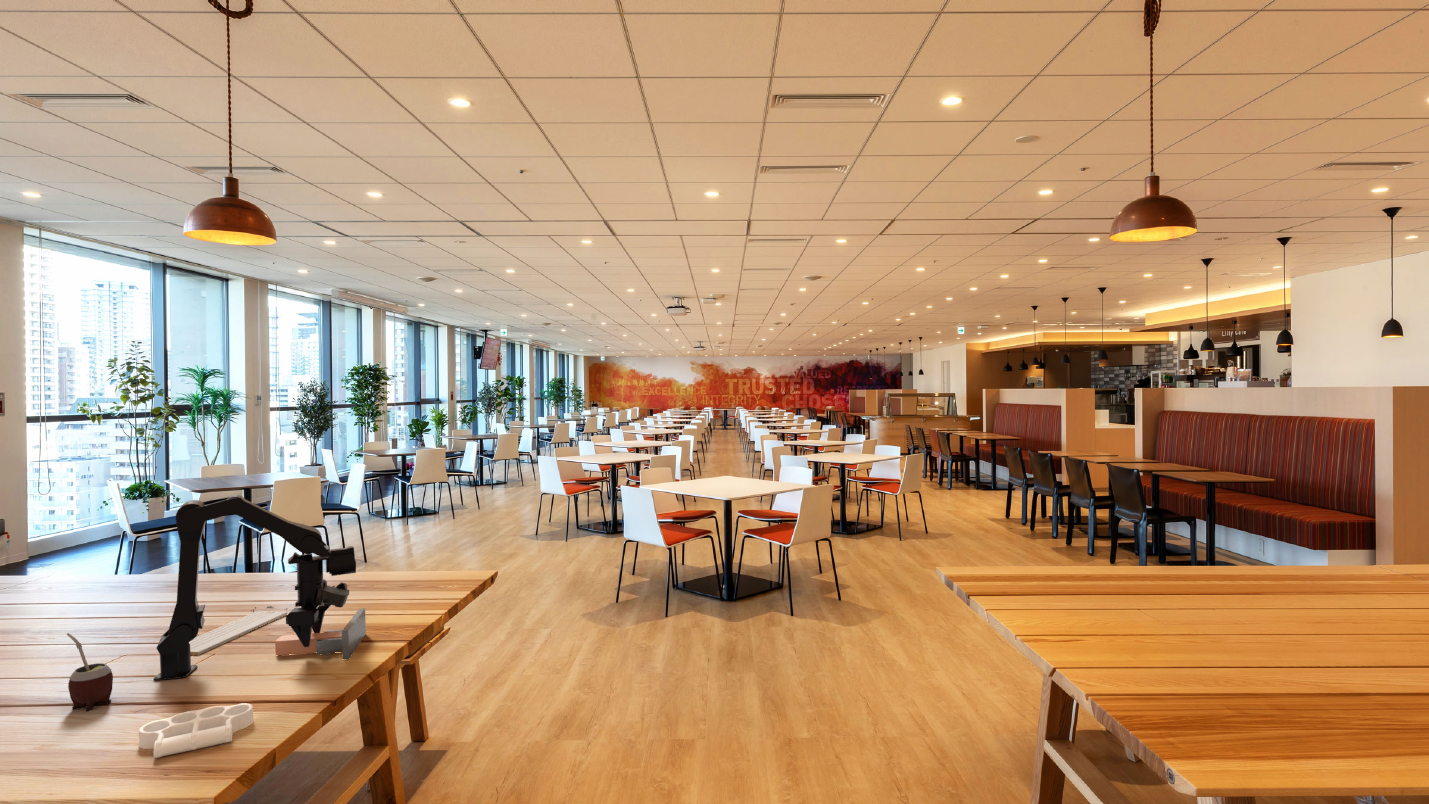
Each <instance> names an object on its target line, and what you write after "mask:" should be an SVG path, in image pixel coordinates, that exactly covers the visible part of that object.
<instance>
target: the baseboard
mask: <svg viewBox="0 0 1429 804" xmlns="http://www.w3.org/2000/svg"><path fill="white" fill-rule="evenodd" d="M256 609H257V607H256V606H255V607H254V609H251V610H250V612H251V613H249V614H247V615H245V616H242V617H240V618H238V619H235V620H233V621H231V622H228V623H226V624H224V625H221V626H219V627H217V628H214V629H212V630H209V631H207V632H204V633H202V634H200V635H197V636H196V637H195V638H194V639H193V640H192V641H190V642H189V644H190V653H191V656H200V655H202V654H204V653H207V652H208V651H211V650H213V649H215V648H217V647H219V646H222V645H224V644H226V643H229V642H232V641H233V640H235V639H237V638H240V637H241V636H244V635H246V634H248V633H251V632H253V631H255V630H257V629H259V628H258V627H260V628H262V627H264V626H266V625H268V624H270V622H271V623H272V621H273V622H274V620H275V621H276V619H277V620H279V619H281V618H280V617H282V618H284V617H286V616H287V614H289V612H288V611H287V610H288V608H287V607H286V608H285V610H286V611H275V610H274V609H275V608H274V607H273V606H271V605H270V606H266V609H271V610H272V609H273V611H271V610H268V611H267V610H256ZM255 610H256V611H255ZM283 616H284V617H283ZM267 623H268V624H267ZM265 624H266V625H265ZM263 625H264V626H263ZM261 626H262V627H261ZM254 629H255V630H254ZM252 630H253V631H252ZM250 631H251V632H250ZM239 636H240V637H239Z"/></svg>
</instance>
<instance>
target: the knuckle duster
mask: <svg viewBox="0 0 1429 804" xmlns="http://www.w3.org/2000/svg"><path fill="white" fill-rule="evenodd" d="M253 723H254V705H253V704H251V703H245V702H244V703H243V702H241V703H238V704H234V705H216V706H215V705H214V706H209V707H205V708H202V709H201V708H200V709H197V710H187V711H185V712H180V713H177V714H175V715H172V716H170V717H166V718H162V719H156V720H153V721H149V722H148V723H145V724H143V725H142V726H141V727H140V728H139V729H138V746H139V748H140V749H144V750H151V749H152V750H153V758H154V759H160V758H162V757H165V756H170V755H174V754H175V755H176V754H179V753H185V752H190V751H196V750H198V749H202V748H203V749H204V748H207V747H213V746H217V745H222V744H227V743H231V742H233V734H234V733H236V732H237V731H240V730H244V729H246V728H247V727H249V726H250V725H252V724H253Z"/></svg>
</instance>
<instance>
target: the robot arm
mask: <svg viewBox="0 0 1429 804" xmlns="http://www.w3.org/2000/svg"><path fill="white" fill-rule="evenodd" d="M232 514H233V515H236V516H237V517H239V518H242V519H244V520H247V521H248V522H250V523H253V524H254V525H256V526H259V527H261V528H263V529H265V530H267V531H269V532H271V533H274V534H275V535H277V536H280V537H281V538H282V539H284V540H285V542H287V543H288V544H289V545H291V547H293V548H295V549H296V550H297V551H298V552H300V553H302V554H299V553H297V552H296V551H294V552H293V554H292V555H291V557H289V558H288V559H287V563H288V565H295V564H296V580H297V581H296V585H295V586H294V591H297V601H296V602H295V605H294V608H293V609H292V610H290V612H288V615H286V616H285V624H286V625H287V626H288V627H290V628H291V630H292V631H293V632H294V633H295V635H297V636H298V638H299V640H300V641H301V643H302V645H303V646H304V647H309V645H310V639H311V634H312V632H313V633H321V630H322V625H323V621H324V617H325V613H326V611H327V610H328V609H329V608H330V607H331V606H334V607H335V608H343V607H344V605H345V604H346V602H347V600H348V598H349V595H350V589H348V585H347V583H345V582H340V583H338V584H337V585H336V586H335V585H333V586H331V585H328V581H327V580H326V579H325V578H324V561H325V573H327V574H329V575H330V576H331V577H333V576H336V577H337V576H342V575H351V574H356V573H357V561H356V558H355V556H356V554H355V547H354V546H353V545H352V546H346V547H342V548H341V547H339V548H332V549H331V548H330V547H329V545H327V543H325V541H324V540H323V537H322V534H321V531H320V530H319V529H318V528H316V527H313V526H310V525H307V524H304V523H299V522H295V521H291V520H288V519H286V518H284V517H282V516H280V515H278V514H275V513H274V512H272V511H270V510H268V509H266V508H263V507H261V506H260V505H258V504H256V503H253V502H252V501H249V500H248V499H245V497H243V496H242V495H239V494H233V495H230V496H226V497H220V498H215V499H209V500H206V501H201V500H198V499H193V500H192V499H191V500H188V501H186V502H184V503H183V504H182V505H181V506H180V507H179V508H178V510H177V511H176V512H175V523H176V528H177V529H176V530H177V535H178V538H179V542H180V544H179V545H180V546H179V560H178V561H179V563H178V574H177V575H178V578H177V591H176V603H175V606H174V609H173V613H172V616H171V620H170V623H169V627H168V629H167V630H166V631H165V632H164V633H163V634H162V635H161V637H160V640H159V642H158V643H157V646H156V650H157V652H158V654H159V667H160V668H159V669H160V672H159V673H158V674H157V675H155V676H154V677H153V681H159V680H171V679H173V680H174V679H181V678H182V679H183V678H186V677H187V676H189V675H190V674H191V673H192V672H193V671H194V670H196V669H197V668H198V664H191V662H192V659H191V658H192V657H191V656H192V655H191V653H190V644H189V642H190V641H192V640H193V639H194V638H195V637H197V636H198V634H199V631H200V630H202V629H203V628H204V624H205V621H206V620H205V617H204V612H205V609H206V604H201V605H199V601H198V585H199V583H198V582H199V571H200V570H199V569H200V568H199V567H200V555H201V554H200V553H201V539H202V536H203V532H204V529H205V526H206V523H207V521H212V520H215V519H219V518H222V517H225V516H228V515H232ZM313 554H314V555H316V556H313Z"/></svg>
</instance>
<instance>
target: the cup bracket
mask: <svg viewBox="0 0 1429 804" xmlns="http://www.w3.org/2000/svg"><path fill="white" fill-rule="evenodd" d="M366 630H367V628H366V608H363V607H362V608H358V609H357V611H356V612H355V614H354V615H353V616H352V617H351V618H350V620H349V621H348V623H346V625H345V626H344V627H343V629H342V628H341V629H331V630H330V629H329V630H324V631H323V633H326V632H339V631H342V638H332V639H320V640H317V641H316V647H317V653H316V656H321V655H320V654H324V655H332V654H331V653H335V652H342V653H341V659H349V658H350V659H351V657H352V656H353V655H354V653H355V652H356V650H357V648H358V647H359V645H360V644H361V643H362V641H363V639H364V638H365V636H366V633H367V631H366ZM353 652H354V653H353ZM335 654H336V653H335ZM351 655H352V656H351ZM350 659H349V660H350Z"/></svg>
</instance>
